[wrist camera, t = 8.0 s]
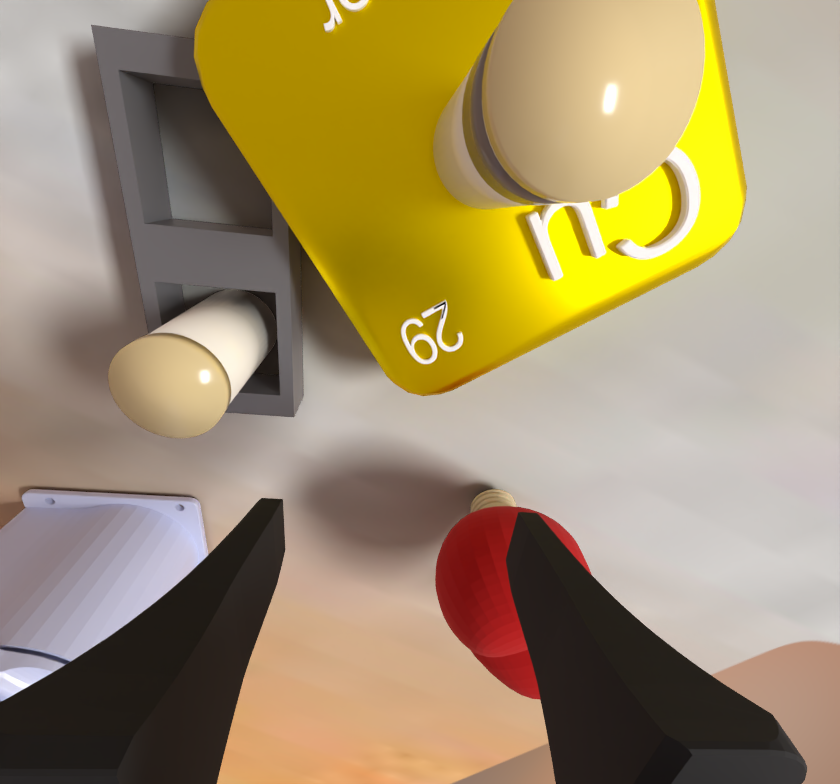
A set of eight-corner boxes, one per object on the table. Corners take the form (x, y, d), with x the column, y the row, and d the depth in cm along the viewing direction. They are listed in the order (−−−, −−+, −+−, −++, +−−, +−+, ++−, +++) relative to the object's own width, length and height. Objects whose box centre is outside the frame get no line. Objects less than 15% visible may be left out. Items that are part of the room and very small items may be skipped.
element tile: (585, -214, 14) (671, -394, 9) (690, 227, 20) (770, 240, 15) (214, 64, 16) (148, 23, 12) (408, 374, 22) (409, 420, 18)
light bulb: (399, 471, 25) (398, 637, 16) (507, 413, 23) (573, 560, 14) (475, 566, 28) (509, 744, 19) (572, 521, 27) (658, 691, 18)
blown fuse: (422, 199, 14) (469, 178, 7) (443, 64, 13) (523, -100, 6) (528, 220, 15) (656, 219, 8) (558, 94, 13) (741, -28, 7)
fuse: (203, 359, 21) (120, 434, 15) (193, 284, 20) (96, 333, 13) (279, 364, 21) (229, 441, 15) (276, 291, 20) (218, 343, 14)
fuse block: (184, 387, 22) (162, 407, 20) (130, 44, 16) (91, 25, 14) (303, 396, 22) (294, 417, 20) (296, 66, 16) (282, 50, 14)
